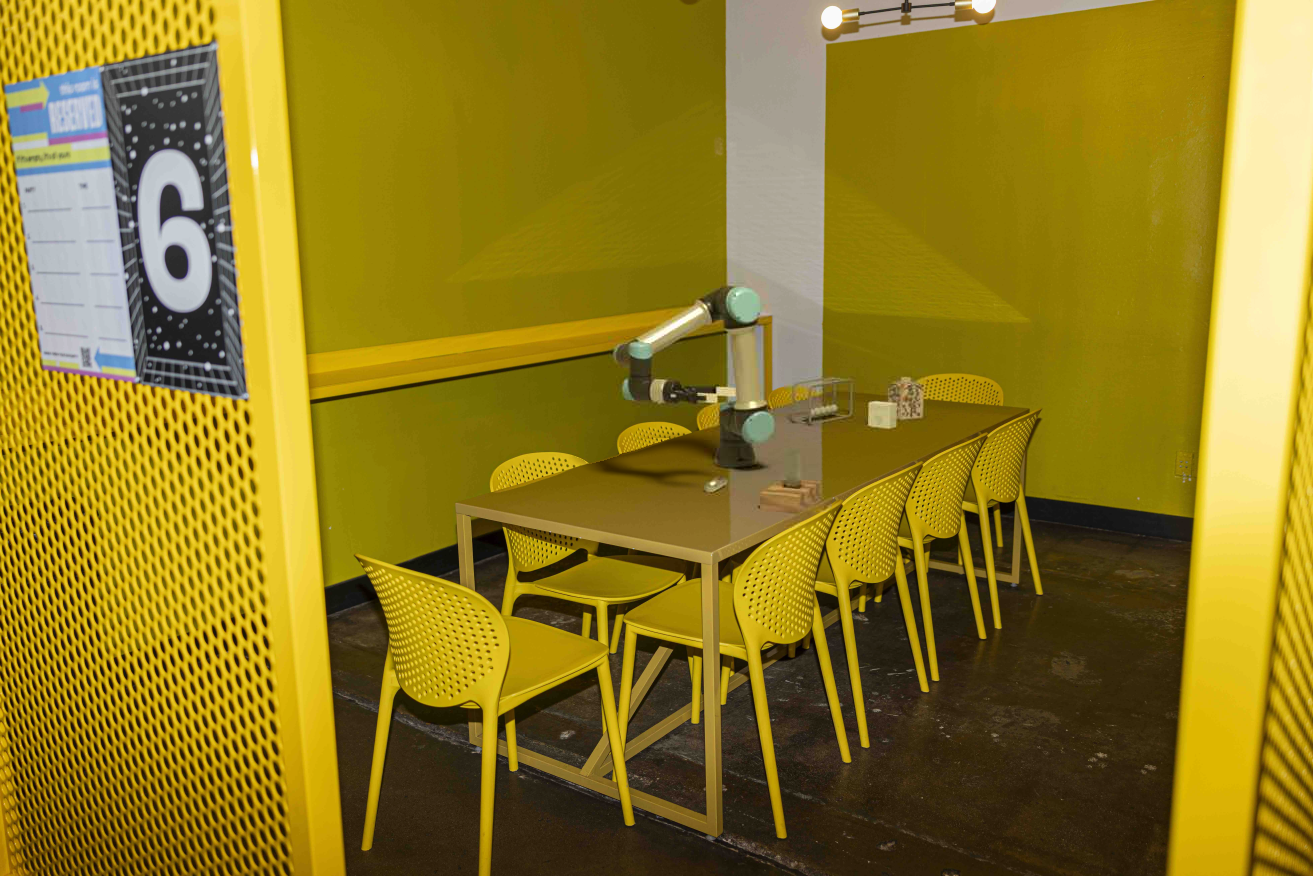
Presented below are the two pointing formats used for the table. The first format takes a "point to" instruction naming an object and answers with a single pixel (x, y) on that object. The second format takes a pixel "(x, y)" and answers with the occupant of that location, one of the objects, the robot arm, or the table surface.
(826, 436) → the table surface
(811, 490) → the holder block
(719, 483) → the round bit
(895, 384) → the decorative jar
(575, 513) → the table surface
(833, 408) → the newton's cradle
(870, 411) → the skincare box
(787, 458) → the square bit
